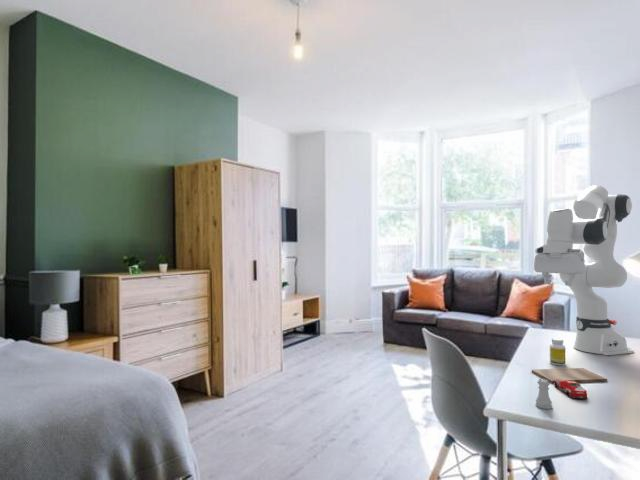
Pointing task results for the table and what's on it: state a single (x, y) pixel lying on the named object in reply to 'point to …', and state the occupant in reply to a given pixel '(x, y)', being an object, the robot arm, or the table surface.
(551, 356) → the supplement bottle
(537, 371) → the walnut board
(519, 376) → the table surface
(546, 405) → the rook chess piece
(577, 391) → the race car
